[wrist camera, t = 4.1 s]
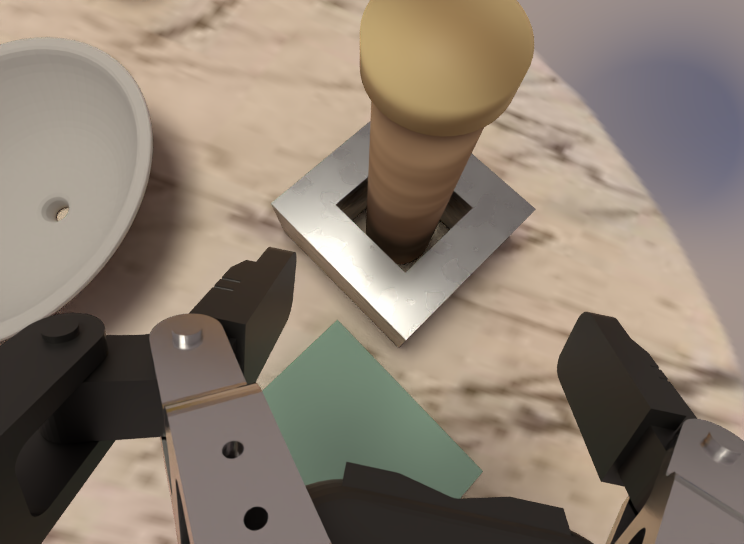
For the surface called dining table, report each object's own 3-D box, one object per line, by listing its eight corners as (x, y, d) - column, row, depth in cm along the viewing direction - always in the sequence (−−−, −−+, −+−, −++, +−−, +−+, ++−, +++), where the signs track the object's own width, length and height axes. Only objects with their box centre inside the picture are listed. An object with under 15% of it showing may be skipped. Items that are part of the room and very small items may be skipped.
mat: (327, 641, 20) (326, 654, 19) (186, 466, 22) (178, 469, 21) (477, 467, 23) (483, 471, 22) (338, 322, 24) (337, 319, 23)
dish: (120, 388, 23) (58, 388, 18) (-121, 326, 24) (-244, 310, 19) (225, 122, 28) (197, 66, 23) (22, 75, 28) (-46, 12, 24)
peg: (398, 286, 25) (452, 143, 11) (343, 232, 26) (323, 30, 11) (451, 234, 26) (569, 38, 12) (397, 184, 27) (442, -59, 12)
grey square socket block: (398, 347, 24) (405, 339, 20) (284, 230, 26) (271, 203, 22) (509, 235, 26) (535, 209, 22) (397, 134, 28) (403, 94, 24)
